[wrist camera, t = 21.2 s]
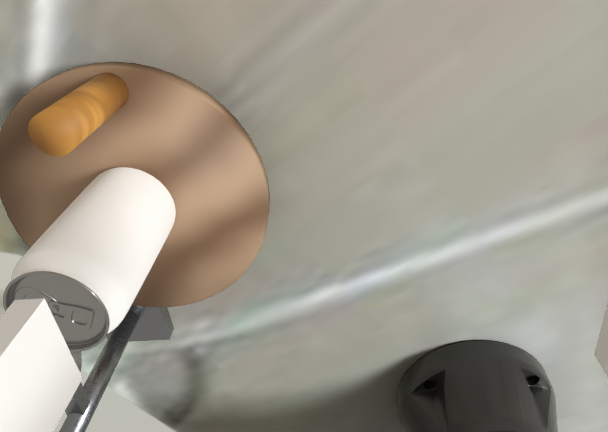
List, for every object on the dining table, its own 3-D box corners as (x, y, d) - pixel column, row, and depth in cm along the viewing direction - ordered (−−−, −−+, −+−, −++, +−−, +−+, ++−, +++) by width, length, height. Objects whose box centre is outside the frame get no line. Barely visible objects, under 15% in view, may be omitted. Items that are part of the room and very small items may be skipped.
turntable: (324, 197, 38) (323, 273, 29) (166, 330, 45) (130, 421, 37) (101, -7, 31) (19, 18, 23) (-39, 191, 39) (-138, 263, 30)
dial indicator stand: (173, 328, 48) (119, 468, 36) (114, 331, 49) (41, 470, 36) (145, 241, 43) (71, 369, 31) (80, 246, 44) (-19, 373, 31)
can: (98, 150, 35) (-2, 248, 24) (187, 183, 35) (127, 290, 25) (84, 223, 38) (-10, 336, 27) (166, 251, 39) (105, 371, 28)
